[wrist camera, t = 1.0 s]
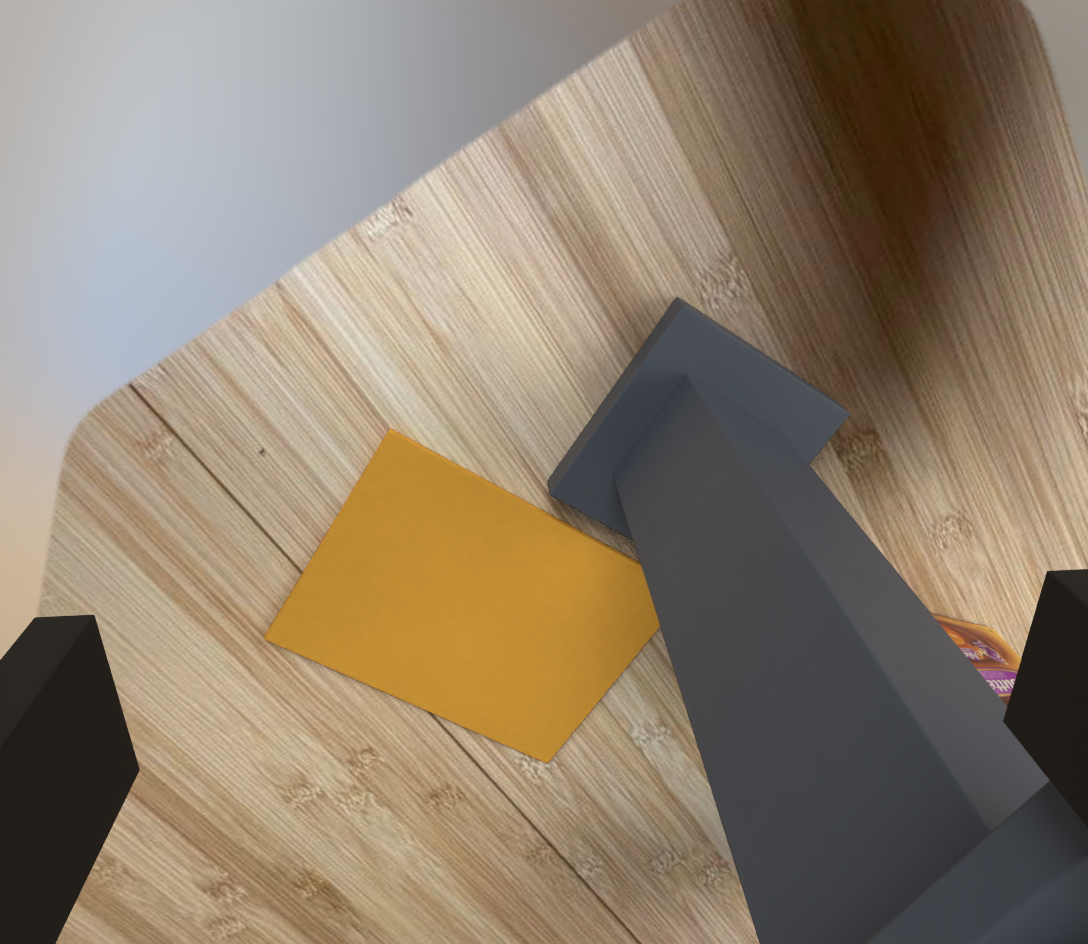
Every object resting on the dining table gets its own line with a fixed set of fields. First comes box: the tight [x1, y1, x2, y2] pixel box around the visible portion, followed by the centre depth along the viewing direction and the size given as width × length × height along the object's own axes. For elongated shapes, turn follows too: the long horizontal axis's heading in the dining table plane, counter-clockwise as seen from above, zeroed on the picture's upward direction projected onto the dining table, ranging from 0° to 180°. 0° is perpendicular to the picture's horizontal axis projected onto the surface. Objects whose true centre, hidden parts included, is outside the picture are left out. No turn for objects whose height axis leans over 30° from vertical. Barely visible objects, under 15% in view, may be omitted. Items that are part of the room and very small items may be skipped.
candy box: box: [931, 613, 1021, 706], centre depth 41 cm, size 9×4×15 cm, turn 72°
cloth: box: [264, 429, 660, 763], centre depth 45 cm, size 18×14×1 cm
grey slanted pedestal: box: [548, 297, 1088, 944], centre depth 28 cm, size 10×11×30 cm
